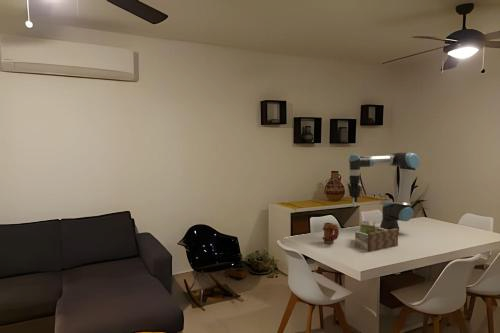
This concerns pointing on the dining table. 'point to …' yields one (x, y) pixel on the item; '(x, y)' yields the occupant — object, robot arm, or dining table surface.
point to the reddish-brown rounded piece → (330, 233)
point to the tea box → (367, 227)
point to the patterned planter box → (377, 239)
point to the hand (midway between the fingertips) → (354, 206)
